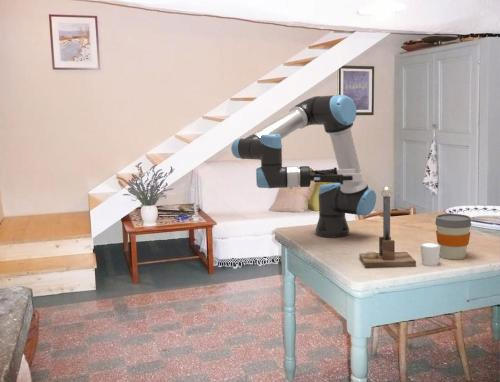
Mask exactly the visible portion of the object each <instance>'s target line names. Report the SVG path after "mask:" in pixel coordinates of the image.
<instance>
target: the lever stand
mask: <svg viewBox="0 0 500 382" xmlns="http://www.w3.org/2000/svg"><path fill="white" fill-rule="evenodd" d="M395 243H396V242H395V240H394V239H392V237H391V236H390V240H383V236H378V252H376V251H367V252H366V253H362V252H361V253H359V256H358V257H359V261H360V262H361V263H362V265H363V267H364V268H365V269H382V268H384V269H385V268H386V269H387V268H409V267H410V268H411V267H412V268H413V267H417V261H416V260H415V259H414V258H413V256H412V255H411V254H409V252H408V251H398V252H397V251H396V252H395V250H396V249H395V247H396V246H395ZM381 245H382V246H381Z"/></svg>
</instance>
